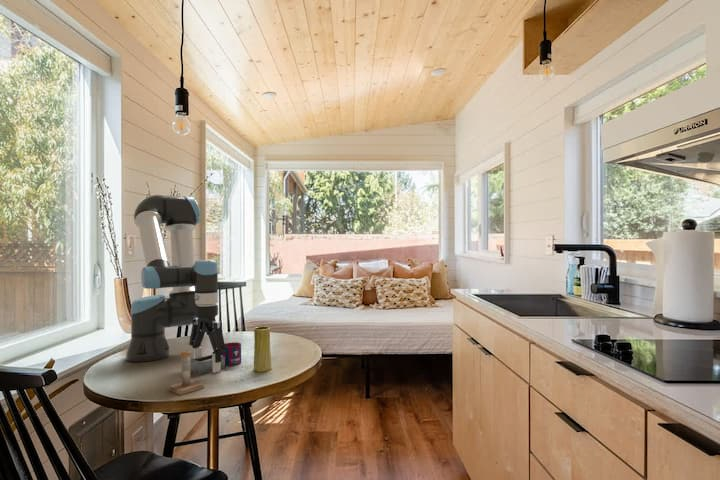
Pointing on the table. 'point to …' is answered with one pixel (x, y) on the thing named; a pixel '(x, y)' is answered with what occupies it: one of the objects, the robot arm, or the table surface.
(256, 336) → the vase
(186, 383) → the keeper post
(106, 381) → the table surface
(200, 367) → the link
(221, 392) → the table surface
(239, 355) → the mug
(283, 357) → the table surface
